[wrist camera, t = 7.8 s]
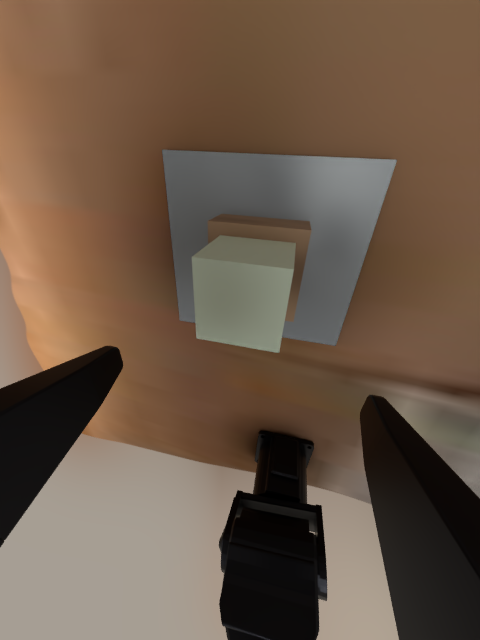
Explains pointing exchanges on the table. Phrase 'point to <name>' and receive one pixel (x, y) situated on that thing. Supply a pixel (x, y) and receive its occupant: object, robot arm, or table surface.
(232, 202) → the slate pad
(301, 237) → the walnut block
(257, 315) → the sage cube
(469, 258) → the table surface
